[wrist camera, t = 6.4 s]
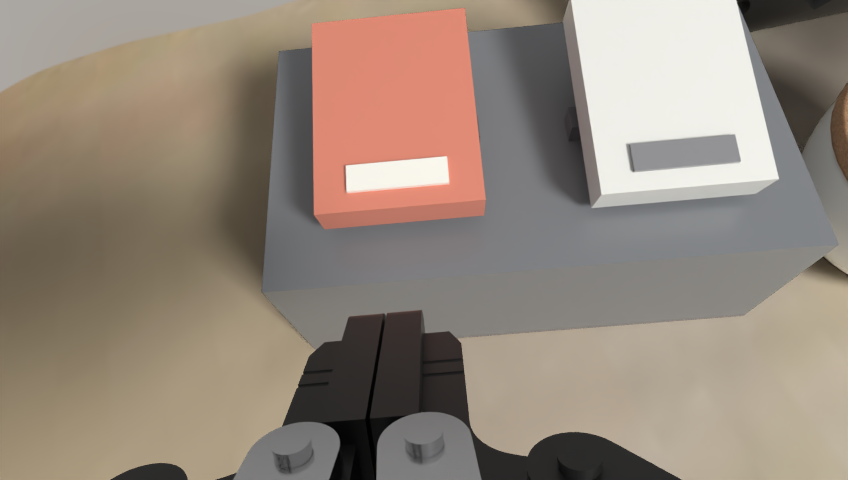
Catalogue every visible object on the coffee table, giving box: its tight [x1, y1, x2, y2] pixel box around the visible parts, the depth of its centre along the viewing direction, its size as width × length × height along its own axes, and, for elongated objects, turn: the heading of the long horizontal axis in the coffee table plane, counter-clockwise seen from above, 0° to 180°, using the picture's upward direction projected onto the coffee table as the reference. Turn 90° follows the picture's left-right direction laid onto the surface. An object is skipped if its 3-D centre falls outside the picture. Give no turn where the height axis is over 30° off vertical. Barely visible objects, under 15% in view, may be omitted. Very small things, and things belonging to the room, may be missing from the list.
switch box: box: [262, 6, 839, 349], centre depth 27 cm, size 21×12×9 cm, turn 93°
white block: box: [563, 0, 779, 208], centre depth 21 cm, size 6×8×2 cm
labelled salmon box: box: [312, 8, 486, 229], centre depth 22 cm, size 6×8×2 cm
